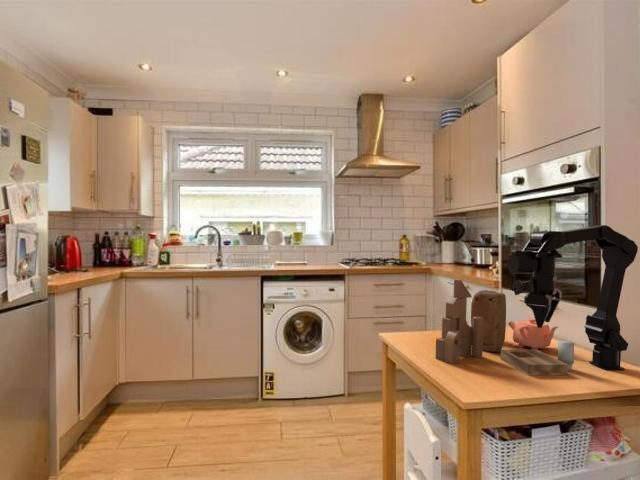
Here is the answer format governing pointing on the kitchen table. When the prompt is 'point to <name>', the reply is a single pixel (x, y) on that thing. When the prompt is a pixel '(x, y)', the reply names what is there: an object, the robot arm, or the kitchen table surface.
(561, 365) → the board
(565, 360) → the peg
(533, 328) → the teapot
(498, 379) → the kitchen table surface
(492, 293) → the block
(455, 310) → the wooden toy
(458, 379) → the kitchen table surface
